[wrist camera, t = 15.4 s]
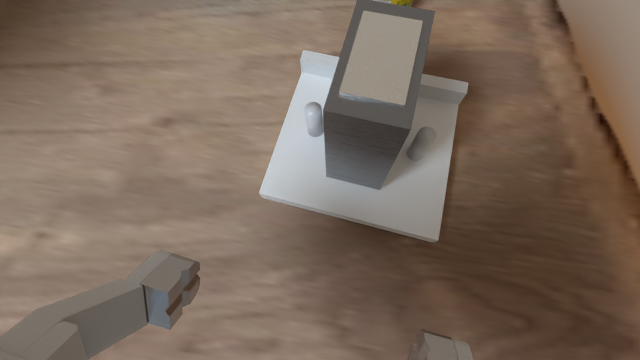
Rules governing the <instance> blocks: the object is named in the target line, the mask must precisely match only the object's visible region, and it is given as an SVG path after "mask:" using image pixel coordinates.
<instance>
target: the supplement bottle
mask: <svg viewBox="0 0 640 360" xmlns="http://www.w3.org/2000/svg"><path fill="white" fill-rule="evenodd" d="M373 1H379V2H385V3H391V4H396V5H402V6H408V7H411V5H412V3H413V0H373Z"/></svg>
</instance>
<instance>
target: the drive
mask: <svg viewBox="0 0 640 360" xmlns="http://www.w3.org/2000/svg"><path fill="white" fill-rule="evenodd" d="M434 13H435V11H431V10H426V9H420V8H414V7H408V6H402V5H396V4H391V3H385V2H379V1H373V0H357V3H356V6H355V9H354V13H353V16H352V19H351V22H350V25H349V29H348V32H347V35H346V38H345V41H344V45H343V48H342V51H341V54H340V57H339V61H338V64H337V67H336V70H335V73H334V77H333V80H332V83H331V86H330V89H329V93H328V96H327V99H326V102H325V105H324V109H323V121H324V142H325V162H326V177H329V178H333V179H337V180H341V181H345V182H349V183H353V184H357V185H361V186H365V187H369V188H373V189H377V190H380V188H381V186H382V185H383V183H384V181H385V179H386V177H387V175H388V173H389V171H390V169H391V167H392V165H393V163H394V162H395V160H396V158H397V156H398V154H399V152H400V150H401V148H402V146H403V144H404V142H405V140H406V138H407V137H408V135H409V133H410V131H411V128H412V123H413V118H414V113H415V108H416V103H417V98H418V93H419V88H420V83H421V78H422V73H423V68H424V63H425V58H426V53H427V48H428V43H429V38H430V33H431V28H432V23H433V18H434Z"/></svg>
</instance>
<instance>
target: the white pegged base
mask: <svg viewBox="0 0 640 360" xmlns="http://www.w3.org/2000/svg"><path fill="white" fill-rule="evenodd" d="M338 61H339V57H336V56H331V55H326V54H321V53H316V52H311V51H306V50H303V53H302V56H301V59H300V63H301V70H302V73H301V76H300V79H299V82H298V85H297V87H296V90H295V93H294V96H293V99H292V101H291V104H290V107H289V110H288V113H287V115H286V118H285V121H284V124H283V127H282V130H281V132H280V135H279V138H278V141H277V144H276V146H275V149H274V152H273V155H272V158H271V161H270V163H269V166H268V169H267V172H266V175H265V177H264V180H263V183H262V186H261V189H260V191H259V194H260V195H261V197H262V198H265V199H269V200H273V201H277V202H280V203H284V204H288V205H292V206H296V207H299V208H303V209H307V210H311V211H314V212H318V213H322V214H326V215H330V216H333V217H337V218H341V219H345V220H349V221H352V222H356V223H360V224H364V225H367V226H371V227H375V228H379V229H383V230H386V231H390V232H394V233H398V234H402V235H405V236H409V237H413V238H417V239H420V240H424V241H428V242H432V243H433V242H436V241H438V240H439V233H440V227H441V220H442V213H443V207H444V200H445V193H446V187H447V180H448V173H449V166H450V160H451V153H452V146H453V140H454V133H455V126H456V120H457V113H458V106H459V104H460V102H461V101H462V100H463V98H464V97H465V95H466V94H467V89H468V82H463V81H458V80H453V79H447V78H442V77H437V76H432V75H427V74H422V78H421V83H420V88H419V93H418V98H417V103H416V108H415V113H414V118H413V123H412V128H411V131H410V133H409V135H408V137H407V138H406V140H405V142H404V144H403V146H402V148H401V150H400V152H399V154H398V156H397V158H396V160H395V162H394V163H393V165H392V167H391V169H390V171H389V173H388V175H387V177H386V179H385V181H384V183H383V185H382V186H381V188H380V190H377V189H373V188H369V187H365V186H361V185H357V184H353V183H349V182H345V181H341V180H337V179H333V178H329V177H326V162H325V142H324V121H323V109H324V105H325V102H326V99H327V96H328V93H329V89H330V86H331V83H332V80H333V77H334V73H335V70H336V67H337V64H338Z"/></svg>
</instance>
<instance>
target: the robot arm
mask: <svg viewBox="0 0 640 360" xmlns="http://www.w3.org/2000/svg"><path fill="white" fill-rule="evenodd" d="M199 270H200V263H199V262H198V261H195V260H192V259H189V258H186V257H183V256H180V255H177V254H174V253H170V252H167V251H164V250H159V251H156V252H155V253H154V254H153V255H152V256H151V257H149V258H148V259H147V260H146V261H145V262H144V263H143V264H142V265H141V266H140V267H138V268H137V269H136V270H135V271H134V272H133V273H132V274H131V275H130V276H128V277H127V278H126V279H125V280H124V279H119V280H116V281H113V282H111V283H108V284H105V285H102V286H100V287H97V288H94V289H91V290H89V291H86V292H83V293H80V294H78V295H75V296H72V297H69V298H67V299H64V300H61V301H58V302H56V303H53V304H50V305H47V306H45V307H42V308H39V309H36V310H35V311H34V312H32V313H31V314H30V315H28V316H27V317H26V318H24V319H23V320H22V321H21V322H19V323H18V324H17V325H15V326H14V327H13V328H11V329H10V330H9V331H7V332H6V333H5V334H3V335H2V336H1V337H0V360H88V359H90V358H91V357H93V356H95V355H96V354H98V353H100V352H101V351H103V350H105V349H107V348H108V347H110V346H112V345H113V344H115V343H117V342H118V341H120V340H122V339H124V338H125V337H127V336H129V335H130V334H132V333H134V332H135V331H137V330H139V329H141V328H142V327H144V326H146V325H147V323H149V324H153V325H156V326H159V327H163V328H166V329H169V330H171V328H172V327H173V326H174V324H175V323H176V322H177V320H178V319H179V318H180V316H181V315H182V307H184V306H186V305H189V304H190V303H191V302H192V300H193V299H194V298H195V296H196V294H197V291H198V289H199V285H200V278H199V276H198V275H197V272H198V271H199ZM408 360H473V357H472V353H471V350H470V346H469V345H468V343H466V342H463V341H460V340H456V339H453V338H450V337H447V336H444V335H440V334H437V333H433V332H430V331H426V330H423V329H421V330H420V331H419V332H418V334H417V342H416V343H414V344H412V346H411V348H410V350H409V355H408Z"/></svg>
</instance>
